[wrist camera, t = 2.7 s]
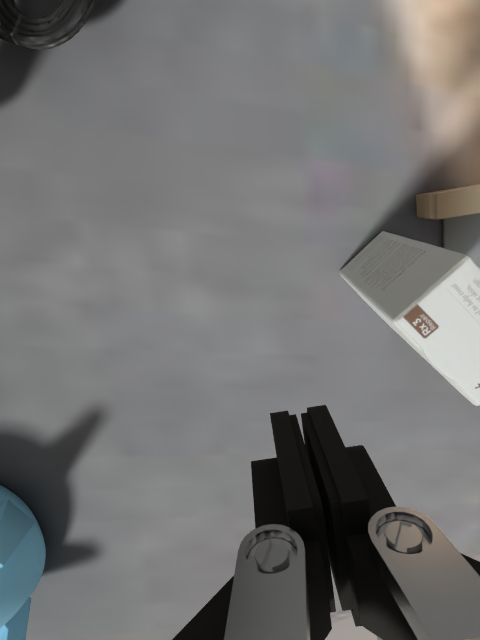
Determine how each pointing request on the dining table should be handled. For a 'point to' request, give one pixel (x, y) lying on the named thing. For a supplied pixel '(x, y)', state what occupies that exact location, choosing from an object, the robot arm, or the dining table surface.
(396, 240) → the skincare box
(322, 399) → the dining table surface
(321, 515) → the robot arm
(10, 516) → the teapot
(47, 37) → the black and silver appliance
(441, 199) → the wooden tray
